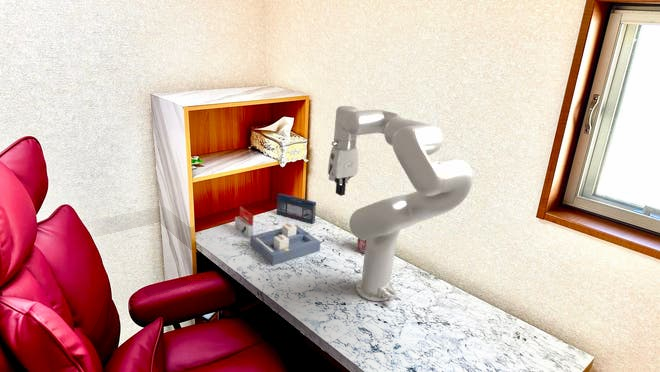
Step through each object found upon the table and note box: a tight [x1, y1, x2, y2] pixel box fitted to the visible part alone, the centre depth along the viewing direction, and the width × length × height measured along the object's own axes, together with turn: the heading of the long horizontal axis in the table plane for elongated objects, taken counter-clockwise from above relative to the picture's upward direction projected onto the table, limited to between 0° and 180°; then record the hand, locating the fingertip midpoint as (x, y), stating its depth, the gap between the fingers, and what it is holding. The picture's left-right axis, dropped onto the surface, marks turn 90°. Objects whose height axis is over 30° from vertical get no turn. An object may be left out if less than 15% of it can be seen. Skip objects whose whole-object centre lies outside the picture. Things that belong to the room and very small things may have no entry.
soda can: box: [356, 238, 367, 255], centre depth 168 cm, size 7×7×12 cm
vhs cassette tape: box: [276, 193, 317, 225], centre depth 191 cm, size 18×3×10 cm, turn 64°
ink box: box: [234, 205, 254, 239], centre depth 175 cm, size 2×11×10 cm, turn 40°
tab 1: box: [274, 235, 289, 251], centre depth 160 cm, size 4×4×6 cm
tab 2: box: [281, 222, 297, 237], centre depth 170 cm, size 4×4×6 cm
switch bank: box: [249, 224, 321, 266], centre depth 166 cm, size 17×21×4 cm
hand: (340, 194), depth 151 cm, fingers closed
